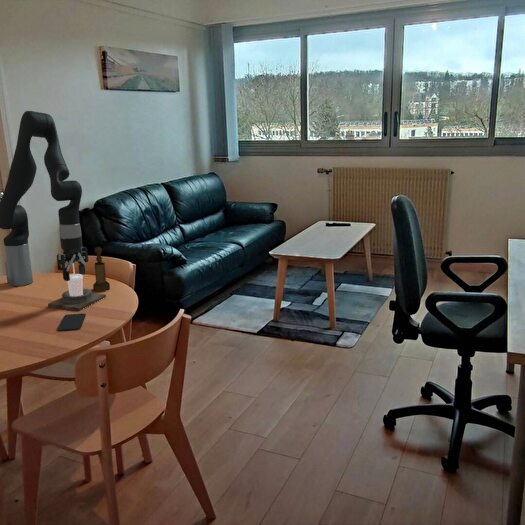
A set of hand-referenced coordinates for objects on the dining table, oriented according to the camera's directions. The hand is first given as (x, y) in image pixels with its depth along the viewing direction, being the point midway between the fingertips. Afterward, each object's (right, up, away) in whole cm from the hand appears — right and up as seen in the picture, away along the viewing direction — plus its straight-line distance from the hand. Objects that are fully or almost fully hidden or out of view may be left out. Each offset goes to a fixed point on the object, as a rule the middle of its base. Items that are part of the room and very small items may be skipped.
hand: (74, 277), depth 197 cm
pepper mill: (+5, -6, +18) cm, 19 cm away
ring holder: (0, -9, +3) cm, 10 cm away
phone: (+6, -15, -18) cm, 24 cm away
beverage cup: (0, -8, +3) cm, 9 cm away
